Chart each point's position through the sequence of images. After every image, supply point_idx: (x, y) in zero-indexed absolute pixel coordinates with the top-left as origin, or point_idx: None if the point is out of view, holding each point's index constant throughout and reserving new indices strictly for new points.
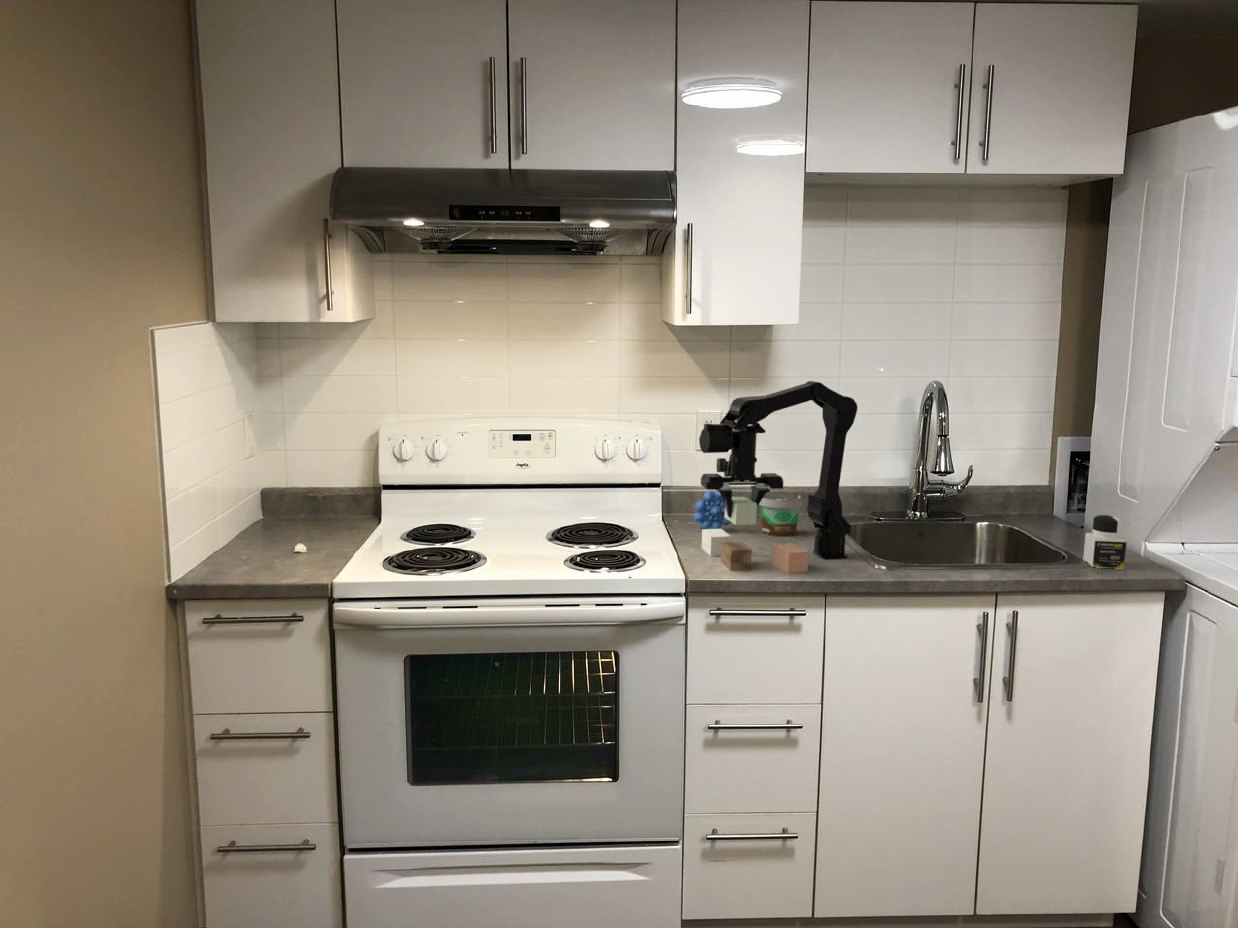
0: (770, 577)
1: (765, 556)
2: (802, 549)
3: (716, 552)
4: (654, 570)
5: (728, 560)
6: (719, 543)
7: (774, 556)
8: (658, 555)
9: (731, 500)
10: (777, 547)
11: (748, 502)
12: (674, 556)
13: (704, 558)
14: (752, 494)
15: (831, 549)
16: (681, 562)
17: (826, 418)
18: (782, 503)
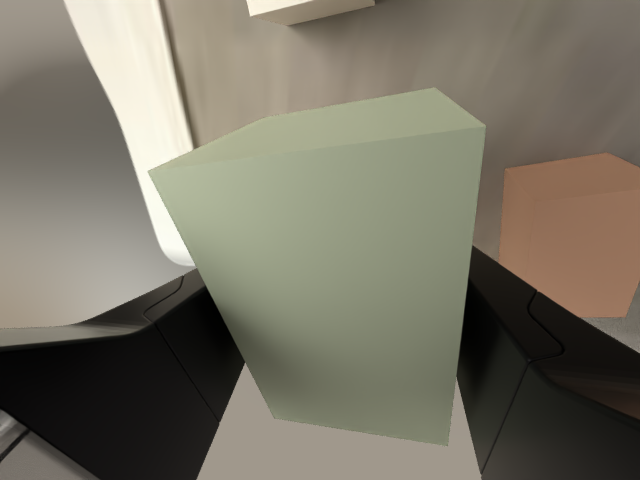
0: None
1: (549, 28)
2: (625, 289)
3: (306, 19)
4: (145, 197)
5: None
6: (307, 9)
7: (514, 195)
8: (100, 15)
9: (228, 397)
10: (529, 238)
11: (381, 410)
12: (155, 32)
13: (262, 67)
14: (524, 398)
15: None
16: (192, 123)
17: None
18: None
